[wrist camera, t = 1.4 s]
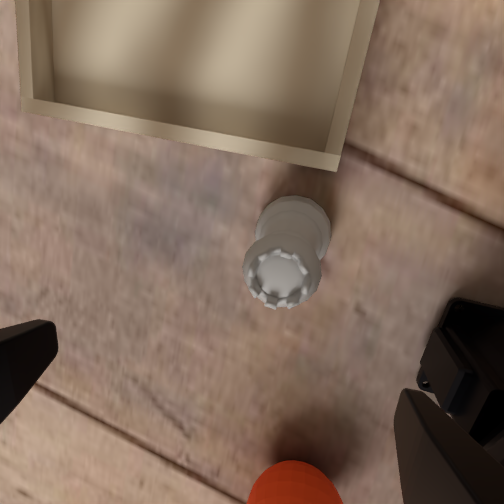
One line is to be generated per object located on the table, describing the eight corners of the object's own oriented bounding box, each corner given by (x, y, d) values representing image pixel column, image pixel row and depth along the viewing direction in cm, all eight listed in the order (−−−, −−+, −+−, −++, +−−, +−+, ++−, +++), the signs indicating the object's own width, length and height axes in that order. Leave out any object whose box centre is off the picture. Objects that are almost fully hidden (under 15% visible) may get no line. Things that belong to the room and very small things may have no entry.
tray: (389, -49, 15) (399, -79, 13) (334, 169, 19) (336, 172, 17) (44, -86, 18) (8, -116, 16) (50, 114, 21) (21, 111, 19)
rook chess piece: (277, 180, 20) (251, 202, 12) (345, 215, 19) (361, 258, 12) (246, 244, 21) (205, 298, 14) (308, 277, 21) (302, 350, 14)
